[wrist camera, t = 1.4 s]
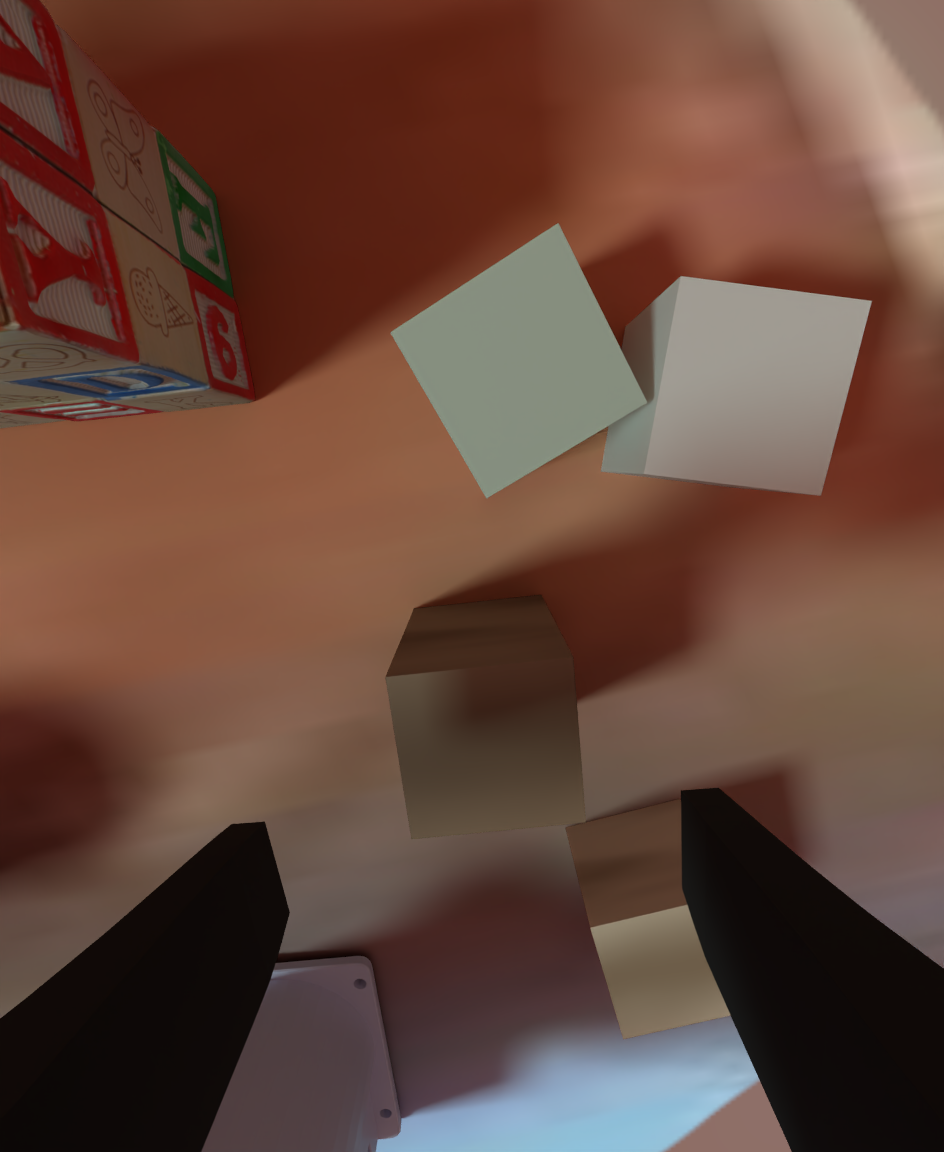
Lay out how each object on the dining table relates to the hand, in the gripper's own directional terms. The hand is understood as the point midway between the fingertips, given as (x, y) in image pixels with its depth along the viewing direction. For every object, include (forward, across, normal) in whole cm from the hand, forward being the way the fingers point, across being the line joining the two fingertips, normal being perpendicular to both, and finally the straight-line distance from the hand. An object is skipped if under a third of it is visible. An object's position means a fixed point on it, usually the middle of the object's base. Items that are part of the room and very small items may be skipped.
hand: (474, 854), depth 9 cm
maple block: (+10, -5, +10) cm, 15 cm away
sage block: (+10, -2, -8) cm, 13 cm away
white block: (+11, -7, -7) cm, 15 cm away
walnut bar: (+10, 0, +1) cm, 10 cm away
